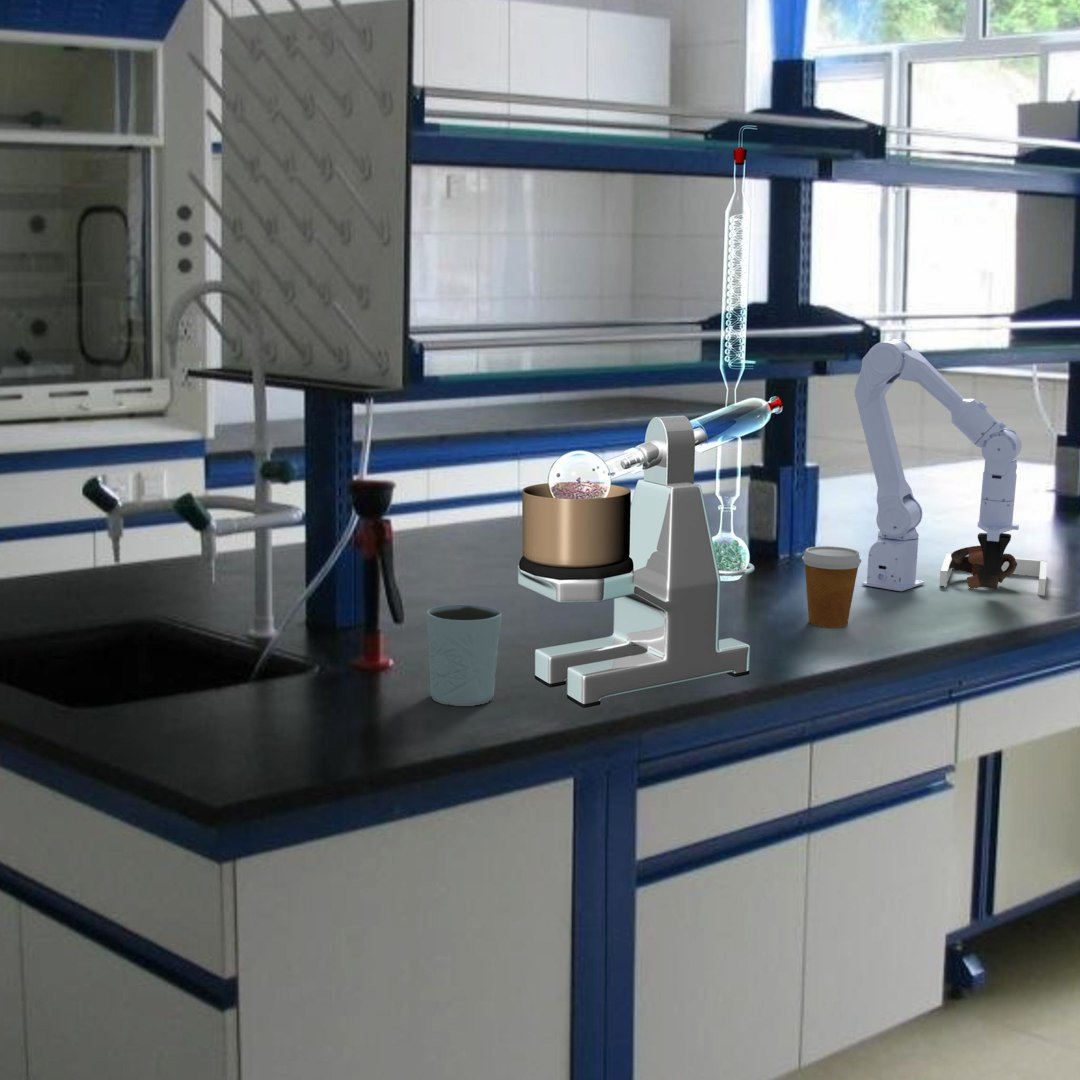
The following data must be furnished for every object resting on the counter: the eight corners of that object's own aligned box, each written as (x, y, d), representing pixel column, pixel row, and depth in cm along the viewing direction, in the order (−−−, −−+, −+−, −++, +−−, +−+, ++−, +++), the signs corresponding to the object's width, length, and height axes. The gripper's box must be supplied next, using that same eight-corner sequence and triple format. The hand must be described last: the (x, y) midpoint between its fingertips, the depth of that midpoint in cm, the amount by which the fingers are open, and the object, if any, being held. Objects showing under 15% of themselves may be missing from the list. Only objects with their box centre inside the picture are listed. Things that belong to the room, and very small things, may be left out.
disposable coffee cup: (813, 631, 285) (818, 557, 283) (789, 617, 294) (793, 546, 292) (867, 628, 288) (872, 556, 286) (841, 615, 297) (846, 545, 295)
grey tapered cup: (426, 708, 236) (428, 620, 234) (423, 687, 246) (424, 603, 244) (502, 708, 237) (505, 620, 235) (496, 687, 247) (498, 603, 245)
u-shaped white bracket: (1044, 595, 317) (1046, 579, 317) (939, 586, 322) (940, 570, 322) (1045, 575, 334) (1047, 560, 334) (946, 567, 339) (947, 552, 339)
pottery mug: (952, 591, 321) (944, 548, 324) (956, 604, 330) (948, 562, 333) (1020, 579, 318) (1011, 536, 321) (1022, 592, 327) (1014, 550, 330)
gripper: (1019, 507, 305) (1013, 584, 307) (1022, 494, 318) (1015, 568, 321) (977, 503, 307) (971, 580, 309) (982, 491, 320) (975, 565, 323)
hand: (991, 574), depth 315 cm, fingers closed
